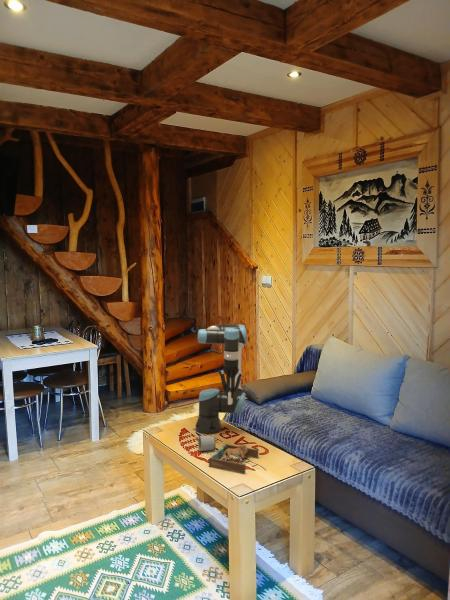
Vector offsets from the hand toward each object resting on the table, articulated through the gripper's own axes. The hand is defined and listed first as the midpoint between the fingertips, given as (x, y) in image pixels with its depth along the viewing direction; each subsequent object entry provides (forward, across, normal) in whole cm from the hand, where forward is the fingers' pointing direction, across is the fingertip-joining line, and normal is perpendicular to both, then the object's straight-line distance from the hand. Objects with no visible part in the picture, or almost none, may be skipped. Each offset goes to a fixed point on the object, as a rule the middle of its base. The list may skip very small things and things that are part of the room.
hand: (230, 403), depth 242 cm
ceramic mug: (+25, -11, -5) cm, 28 cm away
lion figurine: (+23, +10, -14) cm, 29 cm away
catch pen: (+24, +8, -13) cm, 29 cm away
